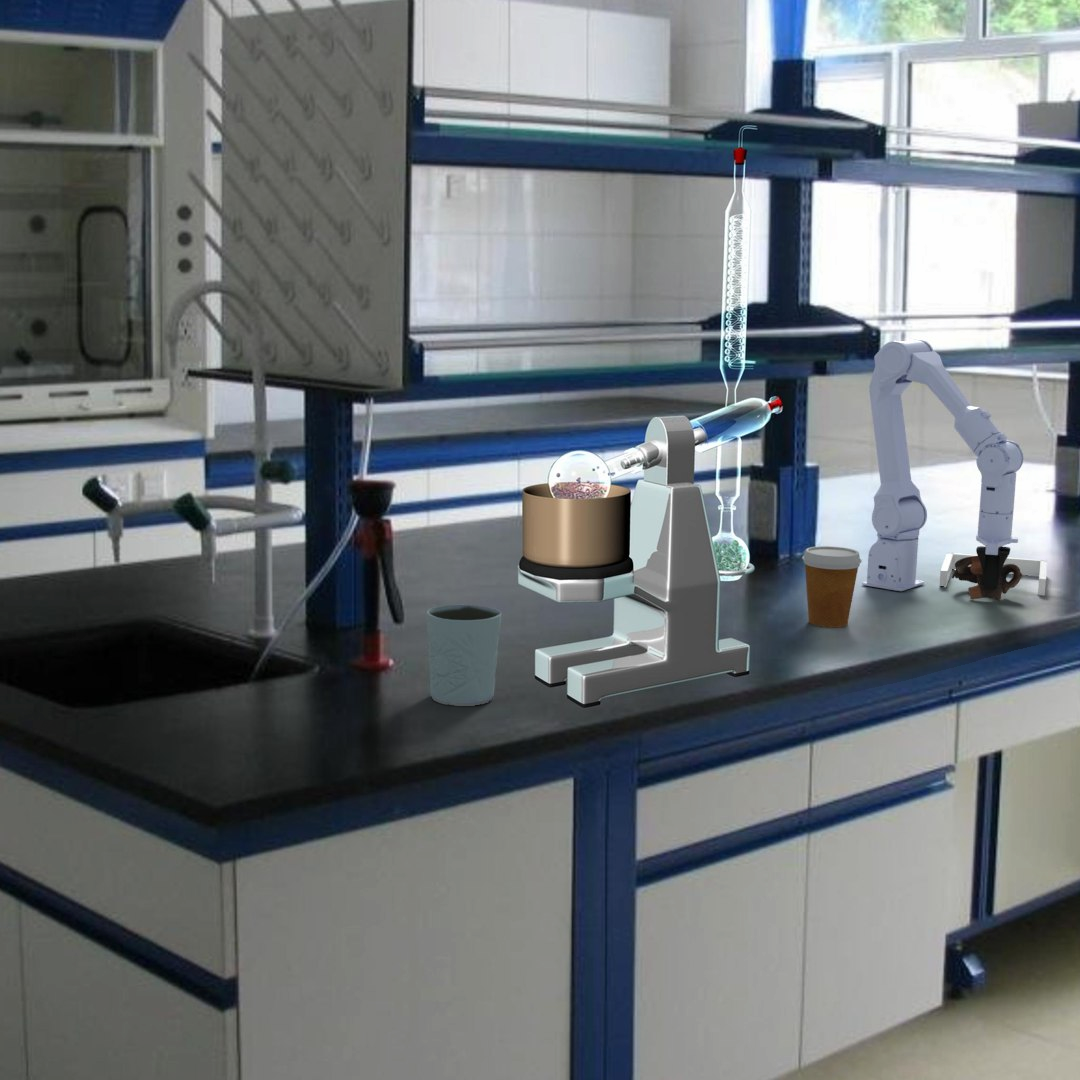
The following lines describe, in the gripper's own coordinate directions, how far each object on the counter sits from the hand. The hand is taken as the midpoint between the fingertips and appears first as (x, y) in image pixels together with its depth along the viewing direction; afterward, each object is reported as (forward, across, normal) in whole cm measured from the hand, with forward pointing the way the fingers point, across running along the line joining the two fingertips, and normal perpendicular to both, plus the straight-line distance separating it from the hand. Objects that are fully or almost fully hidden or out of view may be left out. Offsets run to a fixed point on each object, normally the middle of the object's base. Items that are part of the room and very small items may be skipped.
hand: (990, 588), depth 310 cm
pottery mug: (+3, +5, +1) cm, 6 cm away
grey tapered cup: (+3, -93, +65) cm, 113 cm away
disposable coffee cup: (+3, -28, +24) cm, 37 cm away
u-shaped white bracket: (+2, +19, 0) cm, 19 cm away
